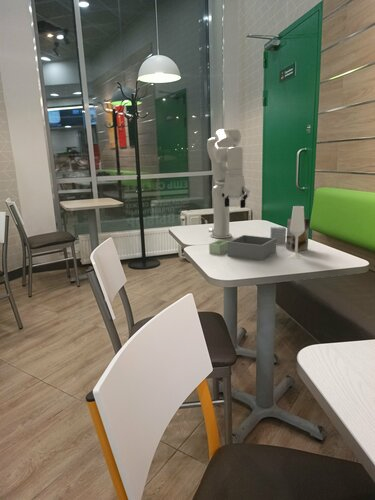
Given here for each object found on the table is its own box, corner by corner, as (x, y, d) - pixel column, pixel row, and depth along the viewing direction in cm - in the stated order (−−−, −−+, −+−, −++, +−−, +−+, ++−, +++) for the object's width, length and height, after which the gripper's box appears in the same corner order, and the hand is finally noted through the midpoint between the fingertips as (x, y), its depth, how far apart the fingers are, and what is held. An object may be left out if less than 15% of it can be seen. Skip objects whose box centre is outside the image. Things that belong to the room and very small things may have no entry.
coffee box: (292, 251, 179) (293, 220, 175) (285, 248, 185) (287, 218, 181) (308, 250, 182) (310, 218, 178) (301, 247, 188) (302, 217, 184)
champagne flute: (304, 255, 171) (307, 206, 165) (301, 259, 166) (304, 207, 160) (290, 254, 175) (292, 205, 169) (286, 257, 169) (289, 207, 163)
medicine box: (284, 241, 201) (284, 226, 199) (285, 243, 197) (286, 228, 195) (270, 241, 202) (270, 226, 200) (271, 243, 198) (271, 228, 195)
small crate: (209, 253, 181) (209, 243, 180) (219, 249, 189) (218, 239, 188) (219, 254, 178) (219, 245, 177) (229, 250, 186) (229, 241, 185)
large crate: (227, 256, 174) (227, 241, 172) (243, 248, 189) (243, 235, 187) (261, 260, 164) (262, 245, 163) (276, 252, 179) (276, 238, 177)
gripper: (216, 173, 179) (216, 206, 183) (245, 172, 167) (244, 209, 171) (225, 172, 184) (225, 205, 188) (253, 172, 173) (253, 207, 177)
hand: (234, 207), depth 180 cm, fingers open, 9 cm apart
